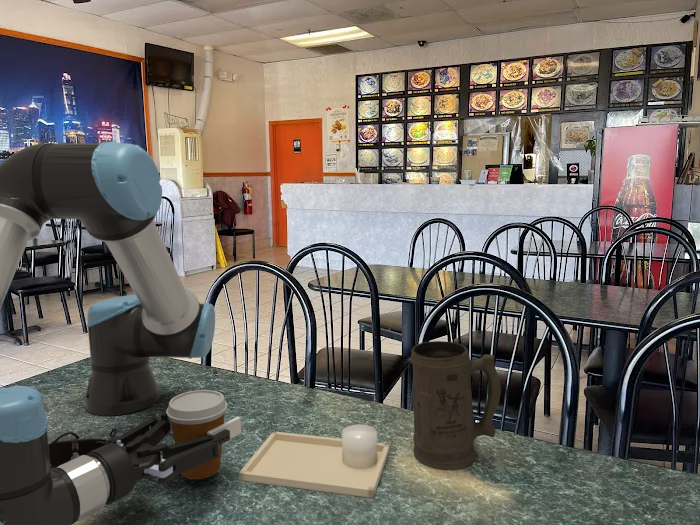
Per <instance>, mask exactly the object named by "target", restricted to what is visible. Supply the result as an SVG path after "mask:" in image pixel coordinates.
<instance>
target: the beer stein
mask: <svg viewBox="0 0 700 525" xmlns="http://www.w3.org/2000/svg"><path fill="white" fill-rule="evenodd" d="M410 353H411V354H410V356H409V359H410V360H409V361H410V362H411V365H412V386H413V387H412V388H413V390H412V391H413V439H412V440H413V456H414V458H415V459H416V461H418V462H419V464H422V465H423V466H425V467H428V468H431V469H434V470H440V471H457V470H462V469H465V468H467V467H469V466H471V465H472V464H473V463H474V461H475V458H476V451H475V444H474V442H475V440H476V439H477V437H480V436H486V437H491V438H494V437H495V434H496V427H495V425H494V424H493V419H494V416H495V413H496V411H497V408H498V406H499V403H500V400H501V399H500V397H501V393H502V388H501V387H502V386H501V380H500V376H499V374H498V371H497V369H496V366H495V356H494V355H492V354H483V355H482V356H481V357H480V358H476V359H473V360H471V357H470V354H469V350H468V348H467V347H466V346H465V345H464V344H462V343H458V342H454V341H443V340H441V341H440V340H435V341H431V340H430V341H423V342H421V343H417V344H415V345H414V346H412V348H411V351H410ZM477 371H479V372H480V371H481V372H483V373H484V374H485V376H486V379H487V388H488V389H487V390H488V391H487V396H486V404H485V407H484V410H483V414H482V416H481V419H480V421H479V422H478V423H474V412H473V411H474V410H473V409H474V408H473V397H472V396H473V395H472V394H473V393H472V383H471V382H472V381H471V377H472V374H474V373H475V372H477Z"/></svg>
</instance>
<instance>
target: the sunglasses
mask: <svg viewBox="0 0 700 525" xmlns="http://www.w3.org/2000/svg"><path fill="white" fill-rule="evenodd" d="M117 431H118V430H117V429H116V428H112V429H111V431H110V433H109V434H108V436H109V437H110V439H113V438H115V437H116V435H117ZM68 435H72V436H73V437H74V438H75V439H69V440H68V439H67V440H60V439H62V438H63V437H66V436H68ZM107 440H108V439H105V438H82V439H81V438H80V436H79V435H78V434H76V433H75V432H72V431H67V432H65V433H63V434H60V436H58V437H56V439H54V440H53V441H52V442H51V443H48V445H49V457H50V466H52V467H57V466H60V465H62V464H64V463H67V462H69V461H71V460H72V458H73V455H74V453H77V454H78V457H80V456H82V455H87V454H88V453H89V452H91V451H93V450H96V449H98V448H100V447H102V446H105V445H106V441H107Z"/></svg>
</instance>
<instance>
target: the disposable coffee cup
mask: <svg viewBox="0 0 700 525" xmlns="http://www.w3.org/2000/svg"><path fill="white" fill-rule="evenodd" d="M227 408H228V402H227V401H226V398H225V396H224V394H223V393H221V392H219V391H216V390H209V389H197V390H196V389H195V390H190V391H186V392H183V393H180V394H178V395H175V396H174V397H172V398H171V399H170V401H169V402H168V407H167V409H166V410H165V411H166V412H165V414H167V416H168V419H170V421H171V427H172V431H173V434H172V436H173V440H174V441H173V442H174V444H176V443H180V442H184V441H188V440H191V439H195V438H199V437H203V436H207V432H208V431H210V430H212V429H214V428H216V427H218V426H220V425H222V424H224V423H225V415H226V414H225V413H226V411H227ZM222 450H223V444H222V445H220V446H219V457H218V458H215V459H213V460H211V461H208V462H206V463H204V464H201V465H199V466H197V467H194V468H192V469H190V470H187V471H185V472H183V473H180V474H181V476H182V477H184V478H186V479H189V480H202V479H207V478H209V477H212V476H214V475H215V474H217V473H218V472H219V471H220V469H221V462H222V460H221V459H222Z"/></svg>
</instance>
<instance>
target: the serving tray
mask: <svg viewBox="0 0 700 525" xmlns="http://www.w3.org/2000/svg"><path fill="white" fill-rule="evenodd" d="M390 446H391V445H390V443H382V442H377V462H376V464H374V465H373V466H371V467H368V468H363V469H357V468H351V467H348V466H346V465H345V464H344V463H343V461H342V438H338V437H337V438H336V437H327V436H319V435H309V434H301V433H290V432H284V431H283V432H280V431H272V433H271V434H270V435H269V436H268V437H267V438H266V439H265V441H264V442H263V443H262V444H261V446H259V448H258V449H257V450H256V451H255V453H254V454H253V455H252V456H251V457H250V459H249V460H248V461H247V462H246V463H245V465H244V466H243V467H242V468H241V469H240V471H239V472H238V480H239V481H242V482H251V483H258V484H265V485H272V486H279V487H280V486H281V487H285V488H286V487H287V488H293V489H294V488H295V489H302V490H310V491H315V492H316V491H317V492H324V493H330V494H331V493H332V494H340V495H347V496H353V497H360V498H361V497H362V498H369V499H374V498H375V495H376V491H377V488H378V485H379V483H380V481H381V476H382V473H383V471H384V468H385V465H386V462H387V459H388V456H389V454H390V449H391V448H390Z"/></svg>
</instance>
